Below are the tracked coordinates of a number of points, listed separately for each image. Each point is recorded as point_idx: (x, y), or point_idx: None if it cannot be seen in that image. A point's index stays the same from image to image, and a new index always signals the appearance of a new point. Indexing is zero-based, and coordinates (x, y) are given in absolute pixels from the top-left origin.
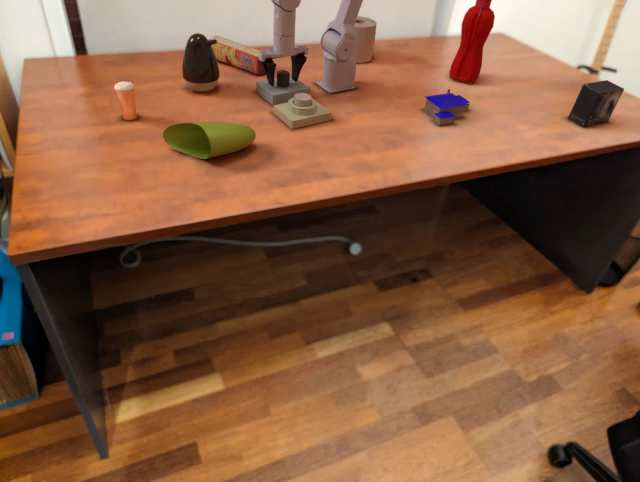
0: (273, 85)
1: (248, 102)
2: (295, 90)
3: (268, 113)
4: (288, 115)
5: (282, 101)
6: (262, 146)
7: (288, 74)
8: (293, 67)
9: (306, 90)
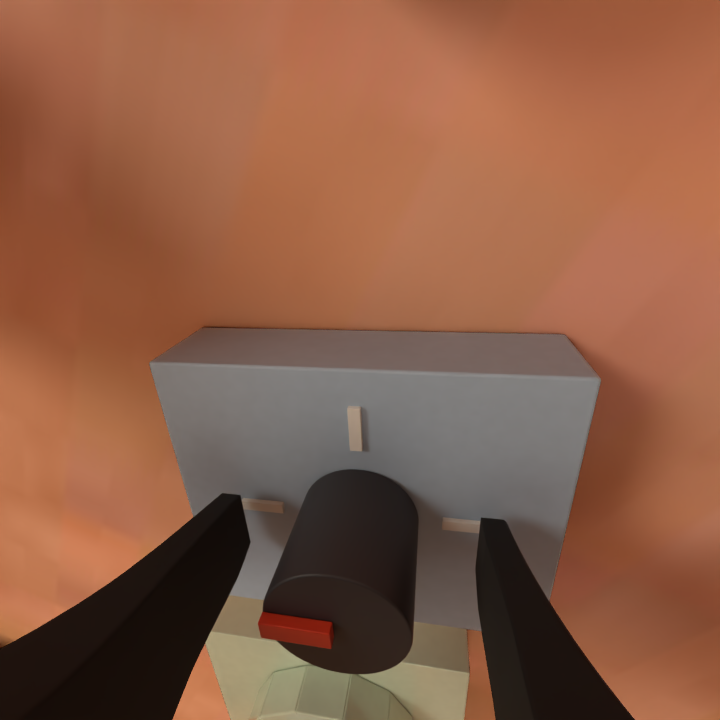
0: (245, 546)
1: (119, 442)
2: None
3: None
4: (239, 713)
5: None
6: None
7: (368, 673)
8: (508, 669)
9: None
